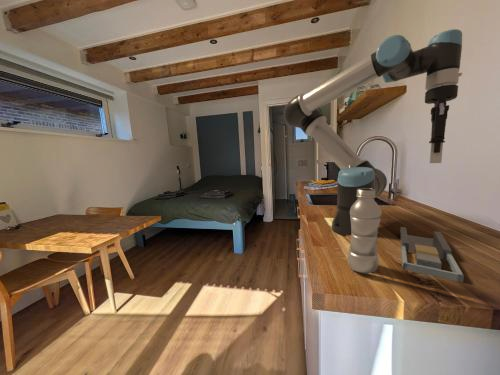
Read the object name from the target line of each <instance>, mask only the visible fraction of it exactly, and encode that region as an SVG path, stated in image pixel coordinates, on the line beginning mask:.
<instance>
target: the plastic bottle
mask: <svg viewBox="0 0 500 375" xmlns="http://www.w3.org/2000/svg"><path fill="white" fill-rule="evenodd" d="M356 197H358V199H357V200H356V201H355V203H354V204H353V205H352V206H351V209H350V219H351V232H352V233H351V235H350V244H349V249H348V253H347V257H346V258H347V264H348V266H349V268H351V270H353V271H355V272H357V273H360V274H365V275H366V274H367V275H368V274H373V273H375V272H376V271H377V270H378V266H379V262H380V261H379V254H378V234H379V226H380V223H381V217H382V209H381V207H380V206H379V204H378V203H377V202H376V201H375V199H376V197H377V196H375V189H368V188H360V189H357V195H356Z"/></svg>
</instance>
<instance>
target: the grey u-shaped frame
mask: <svg viewBox="0 0 500 375" xmlns="http://www.w3.org/2000/svg"><path fill="white" fill-rule="evenodd" d="M400 249H401V248H400ZM401 261H402V262H401V263H402V270H405V271H411V272H415V273H418V274H422V275H423V274H424V275H428V276H432V277H437V278H441V279H445V280H450V281H454V282H458V283H464V280H465V279H464V277H465V276H464V274H463V272H462V270H461V269H460V266H459V265H458V263H457V262H456V260H455V258H454V256H453V254H452V255H451V254H447V259H446V262H447V263H448V265H449V267H450V269H451V271H448V270H444V269H441V270H440V269H435V268H430V267H426V266H421V265H416V263H411V262H408V257H407V252H406V248H405V246H402V249H401Z"/></svg>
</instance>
